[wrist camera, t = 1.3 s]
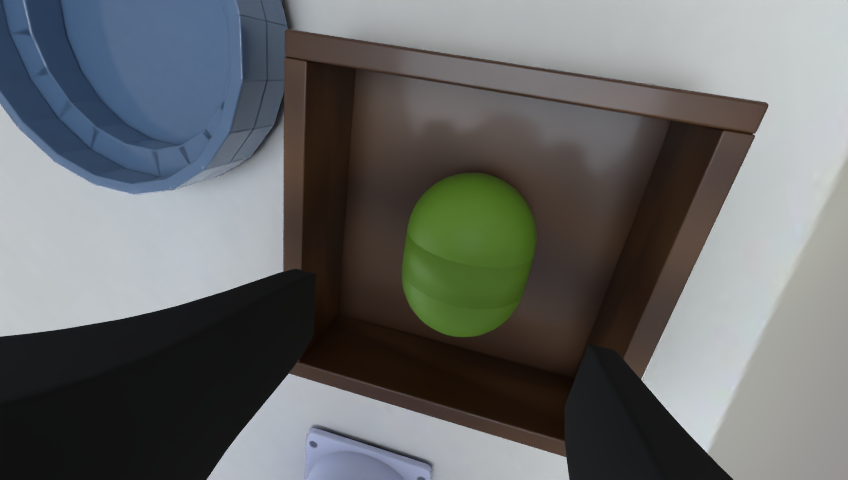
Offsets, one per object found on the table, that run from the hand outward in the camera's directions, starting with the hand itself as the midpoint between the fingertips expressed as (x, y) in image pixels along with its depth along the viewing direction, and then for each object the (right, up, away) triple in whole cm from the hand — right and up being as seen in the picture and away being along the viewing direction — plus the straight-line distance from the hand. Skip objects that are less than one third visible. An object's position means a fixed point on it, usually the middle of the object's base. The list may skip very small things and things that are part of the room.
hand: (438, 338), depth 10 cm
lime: (+1, +2, +5) cm, 5 cm away
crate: (+2, +3, +8) cm, 8 cm away
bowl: (-12, +12, +8) cm, 19 cm away
